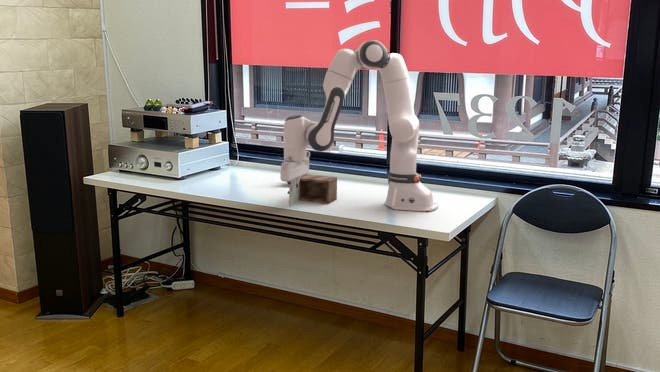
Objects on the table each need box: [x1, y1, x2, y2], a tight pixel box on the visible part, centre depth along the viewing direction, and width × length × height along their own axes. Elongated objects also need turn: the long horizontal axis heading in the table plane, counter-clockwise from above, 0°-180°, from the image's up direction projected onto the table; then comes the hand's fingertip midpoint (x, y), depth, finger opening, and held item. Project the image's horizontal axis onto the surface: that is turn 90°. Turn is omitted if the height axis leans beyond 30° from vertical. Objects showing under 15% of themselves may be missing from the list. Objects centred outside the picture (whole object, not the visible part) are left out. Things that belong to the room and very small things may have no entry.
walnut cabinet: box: [298, 173, 338, 205], centre depth 277 cm, size 15×9×10 cm, turn 67°
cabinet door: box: [287, 181, 300, 207], centre depth 269 cm, size 12×2×9 cm, turn 166°
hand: (295, 188), depth 264 cm, fingers closed
